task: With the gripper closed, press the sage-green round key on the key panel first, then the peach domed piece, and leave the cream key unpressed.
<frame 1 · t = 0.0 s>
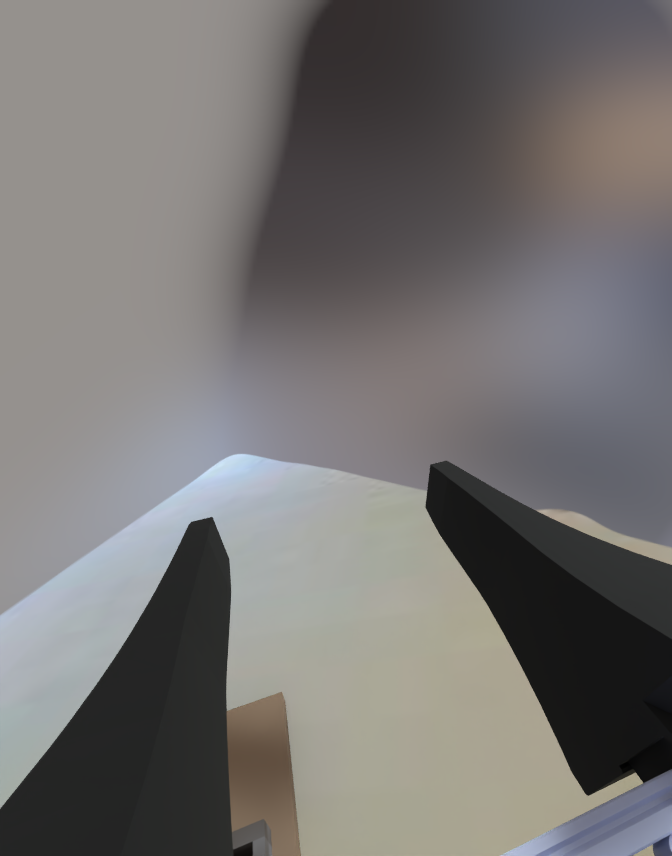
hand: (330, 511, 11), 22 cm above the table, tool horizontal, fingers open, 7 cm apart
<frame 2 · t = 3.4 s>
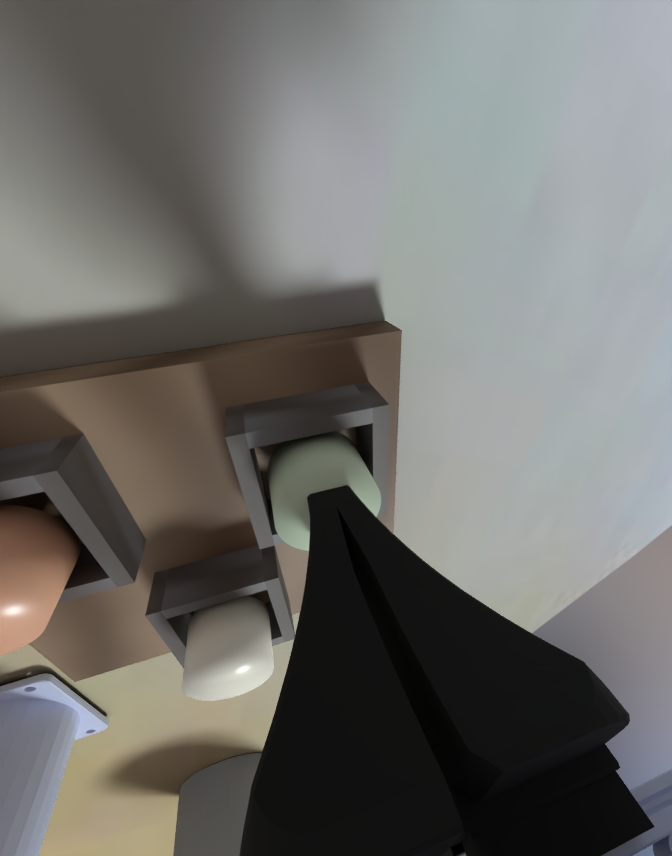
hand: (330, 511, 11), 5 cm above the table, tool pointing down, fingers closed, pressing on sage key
cream key: (230, 646, 14), point 4 cm above the table, slide at 0.0 cm
key panel: (210, 513, 16), on the table
sage key: (321, 489, 12), point 4 cm above the table, slide at 0.5 cm, touching gripper
coffee mug: (242, 773, 35), on the table
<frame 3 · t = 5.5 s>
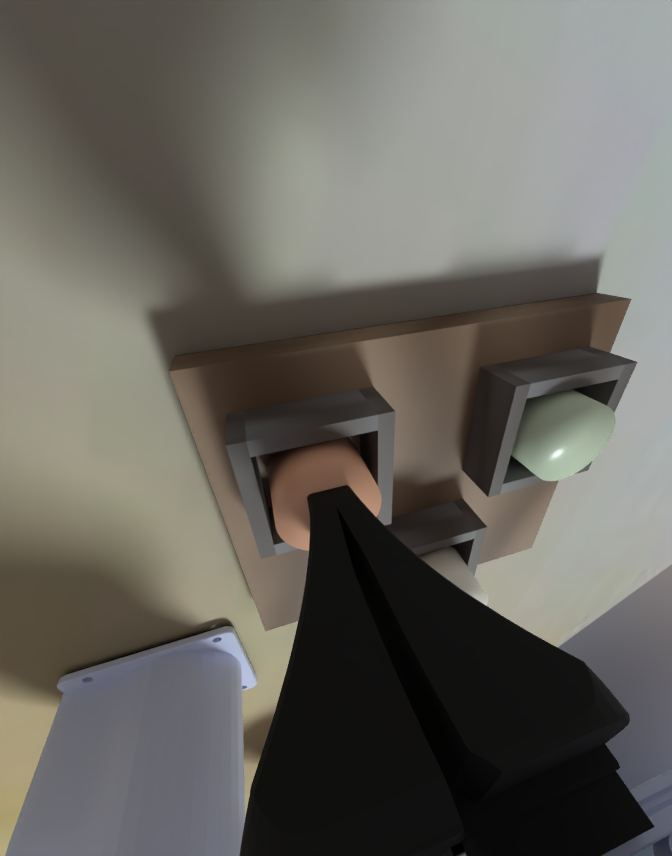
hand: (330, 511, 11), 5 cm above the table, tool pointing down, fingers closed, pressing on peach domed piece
cream key: (439, 590, 16), point 4 cm above the table, slide at 0.0 cm
key panel: (404, 473, 17), on the table
peach domed piece: (321, 489, 12), point 3 cm above the table, slide at 0.9 cm, touching gripper
sage key: (549, 429, 14), point 3 cm above the table, slide at 1.2 cm
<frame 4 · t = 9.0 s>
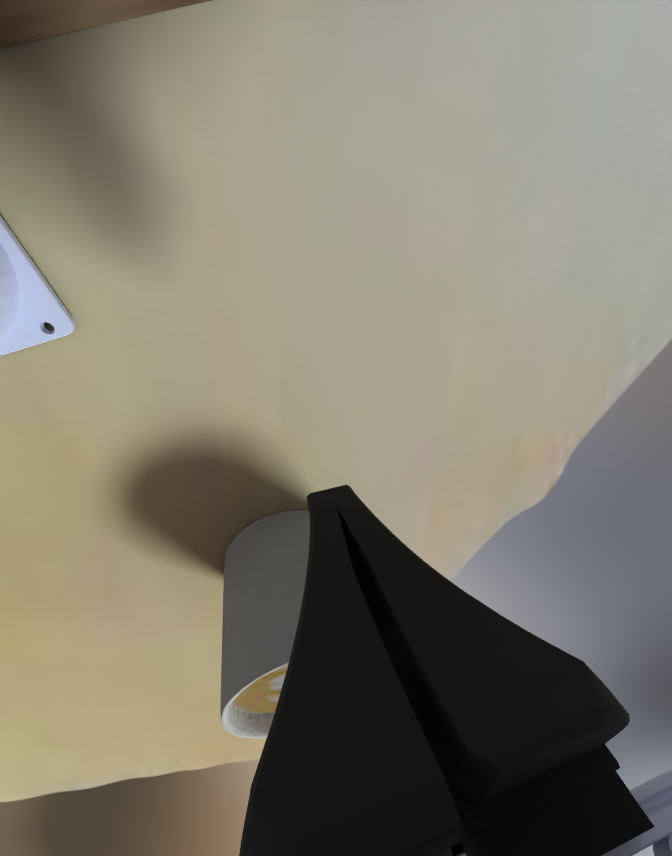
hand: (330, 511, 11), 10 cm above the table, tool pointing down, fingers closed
coffee mug: (301, 558, 28), on the table
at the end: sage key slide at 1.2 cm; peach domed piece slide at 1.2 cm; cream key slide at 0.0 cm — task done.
